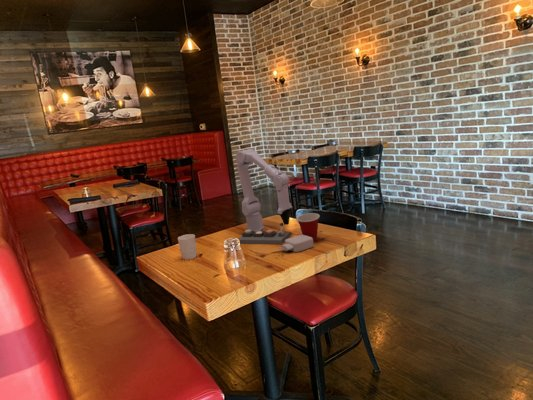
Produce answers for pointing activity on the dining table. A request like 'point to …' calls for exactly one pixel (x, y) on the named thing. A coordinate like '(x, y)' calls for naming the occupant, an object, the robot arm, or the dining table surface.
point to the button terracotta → (269, 231)
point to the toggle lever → (281, 227)
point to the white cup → (187, 246)
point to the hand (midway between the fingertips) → (286, 224)
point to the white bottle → (298, 243)
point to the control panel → (264, 237)
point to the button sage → (248, 231)
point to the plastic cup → (309, 224)
